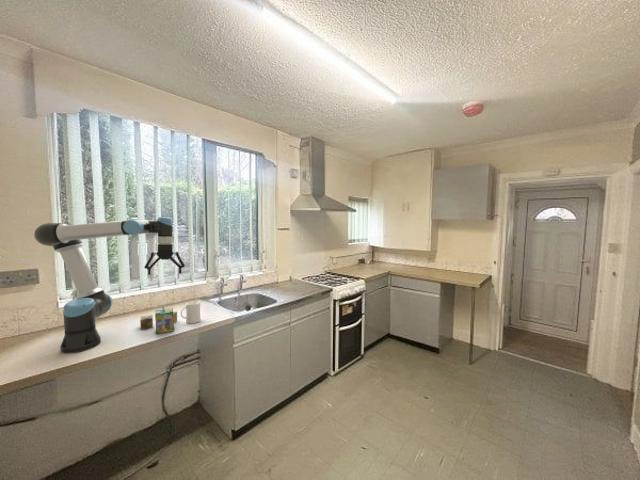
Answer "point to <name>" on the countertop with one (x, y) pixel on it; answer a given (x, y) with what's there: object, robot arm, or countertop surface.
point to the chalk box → (164, 320)
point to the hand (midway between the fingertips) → (165, 279)
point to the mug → (192, 312)
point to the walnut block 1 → (146, 322)
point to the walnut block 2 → (175, 316)
